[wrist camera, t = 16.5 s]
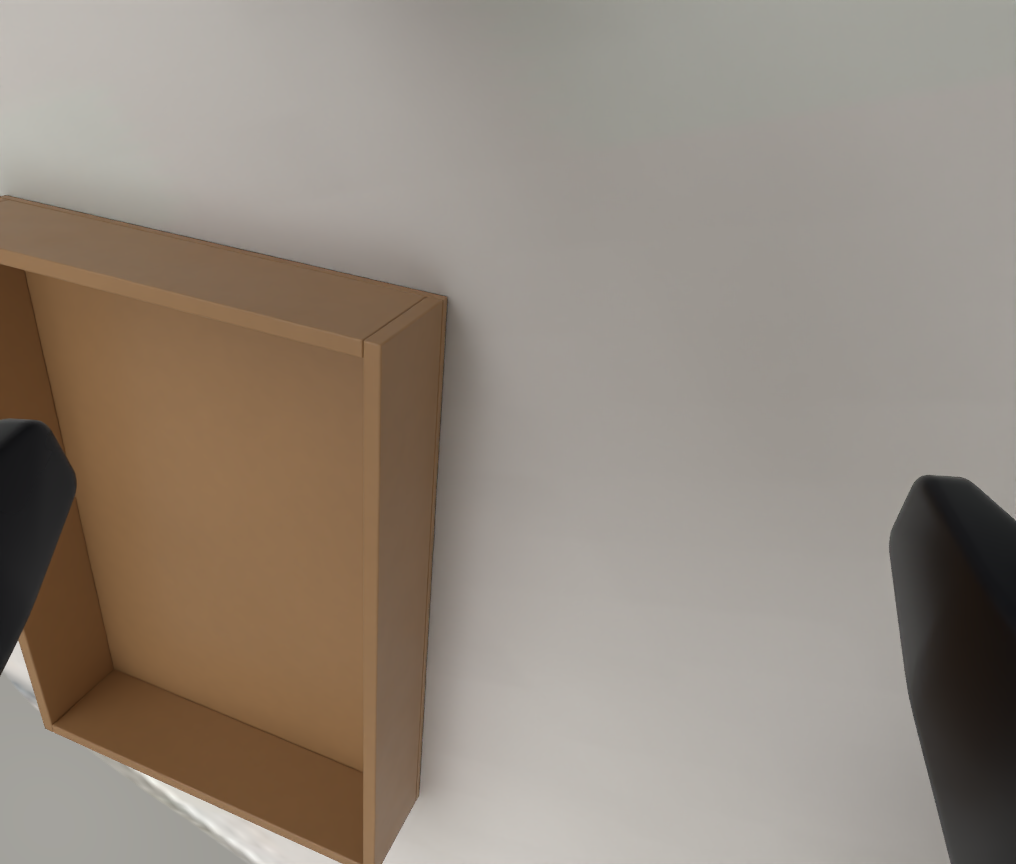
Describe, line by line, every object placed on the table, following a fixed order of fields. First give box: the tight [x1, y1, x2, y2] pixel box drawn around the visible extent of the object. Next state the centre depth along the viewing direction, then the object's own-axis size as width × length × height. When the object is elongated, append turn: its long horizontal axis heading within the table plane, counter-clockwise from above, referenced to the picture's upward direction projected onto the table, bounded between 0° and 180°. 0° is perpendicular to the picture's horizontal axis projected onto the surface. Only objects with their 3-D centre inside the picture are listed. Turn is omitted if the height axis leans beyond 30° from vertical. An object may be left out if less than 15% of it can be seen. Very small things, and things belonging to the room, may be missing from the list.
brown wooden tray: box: [0, 195, 447, 864], centre depth 28 cm, size 16×22×4 cm
